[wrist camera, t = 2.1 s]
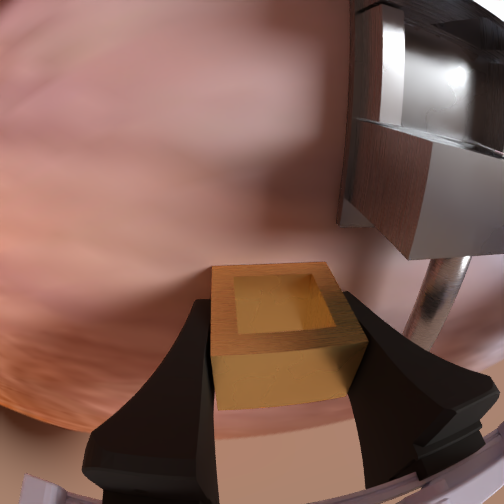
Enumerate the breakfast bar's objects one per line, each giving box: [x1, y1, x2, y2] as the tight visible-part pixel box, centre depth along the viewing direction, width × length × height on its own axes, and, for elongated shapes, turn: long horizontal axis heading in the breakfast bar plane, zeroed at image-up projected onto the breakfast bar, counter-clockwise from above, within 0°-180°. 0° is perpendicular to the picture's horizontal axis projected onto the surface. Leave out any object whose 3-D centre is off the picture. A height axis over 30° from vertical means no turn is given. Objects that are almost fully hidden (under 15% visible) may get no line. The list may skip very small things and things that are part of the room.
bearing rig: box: [336, 0, 504, 260], centre depth 7 cm, size 12×8×5 cm, turn 0°
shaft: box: [402, 256, 472, 352], centre depth 11 cm, size 14×3×3 cm, turn 0°
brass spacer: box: [211, 262, 369, 410], centre depth 11 cm, size 3×5×5 cm, turn 90°
